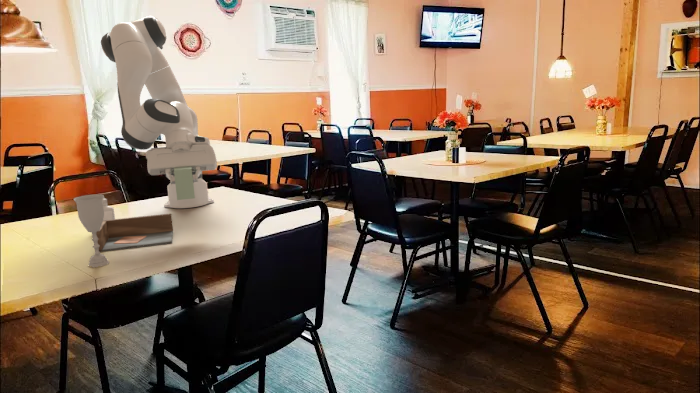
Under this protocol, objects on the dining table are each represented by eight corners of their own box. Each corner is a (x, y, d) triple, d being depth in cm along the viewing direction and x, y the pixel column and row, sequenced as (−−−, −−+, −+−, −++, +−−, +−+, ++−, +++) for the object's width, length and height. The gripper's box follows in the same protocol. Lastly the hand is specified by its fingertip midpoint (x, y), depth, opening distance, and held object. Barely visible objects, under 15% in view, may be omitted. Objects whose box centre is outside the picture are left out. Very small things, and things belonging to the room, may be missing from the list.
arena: (105, 239, 161) (102, 220, 160) (173, 231, 167) (171, 213, 165) (97, 252, 148) (94, 231, 147) (171, 243, 153) (169, 223, 152)
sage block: (177, 196, 159) (174, 167, 157) (194, 195, 160) (191, 166, 158) (177, 200, 154) (173, 169, 152) (194, 198, 155) (191, 168, 154)
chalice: (98, 258, 142) (88, 194, 138) (119, 260, 140) (110, 194, 136) (77, 267, 135) (66, 199, 131) (99, 269, 133) (88, 200, 129)
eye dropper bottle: (110, 233, 168) (104, 196, 166) (95, 232, 170) (89, 196, 167) (118, 229, 172) (114, 194, 170) (104, 229, 174) (99, 193, 171)
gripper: (144, 142, 157) (145, 179, 150) (213, 137, 163) (218, 172, 156) (147, 155, 162) (148, 191, 155) (214, 150, 168) (219, 184, 161)
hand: (184, 182), depth 155 cm, fingers closed on sage block, 5 cm apart
